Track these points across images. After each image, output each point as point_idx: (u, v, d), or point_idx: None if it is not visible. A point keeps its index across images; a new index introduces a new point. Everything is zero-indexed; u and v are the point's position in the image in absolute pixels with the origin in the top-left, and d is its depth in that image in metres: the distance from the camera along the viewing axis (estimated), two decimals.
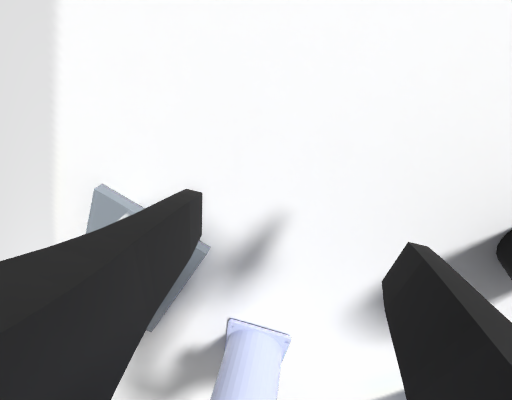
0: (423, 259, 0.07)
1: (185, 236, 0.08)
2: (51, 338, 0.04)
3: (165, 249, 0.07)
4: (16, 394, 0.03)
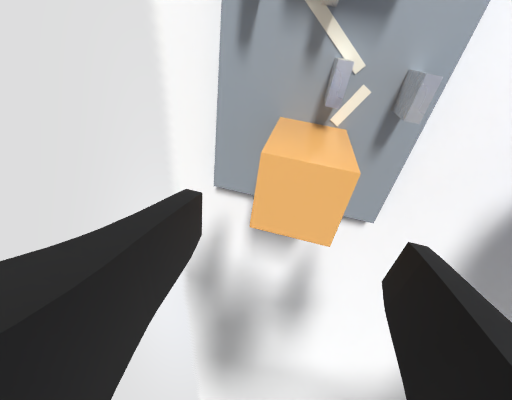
0: (423, 259, 0.07)
1: (185, 236, 0.08)
2: (51, 338, 0.04)
3: (165, 249, 0.07)
4: (16, 394, 0.03)
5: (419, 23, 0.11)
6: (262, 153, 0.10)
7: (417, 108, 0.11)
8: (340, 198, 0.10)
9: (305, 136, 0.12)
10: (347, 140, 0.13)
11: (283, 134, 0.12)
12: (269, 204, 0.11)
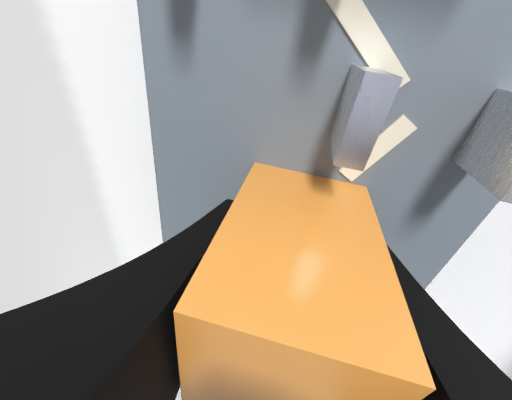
0: None
1: None
2: (141, 368, 0.04)
3: None
4: None
5: None
6: (178, 312, 0.04)
7: None
8: None
9: (293, 218, 0.06)
10: (374, 223, 0.07)
11: (249, 216, 0.06)
12: (213, 385, 0.05)
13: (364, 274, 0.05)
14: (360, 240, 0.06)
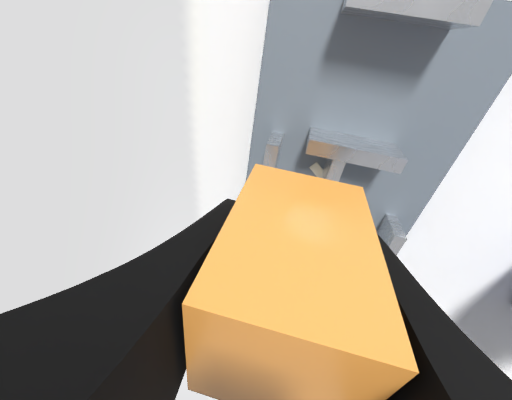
0: None
1: None
2: (141, 368, 0.04)
3: None
4: None
5: (392, 189, 0.16)
6: (186, 305, 0.04)
7: None
8: (364, 395, 0.05)
9: (292, 218, 0.07)
10: (368, 222, 0.07)
11: (250, 216, 0.06)
12: (217, 373, 0.06)
13: (357, 270, 0.05)
14: (355, 238, 0.06)
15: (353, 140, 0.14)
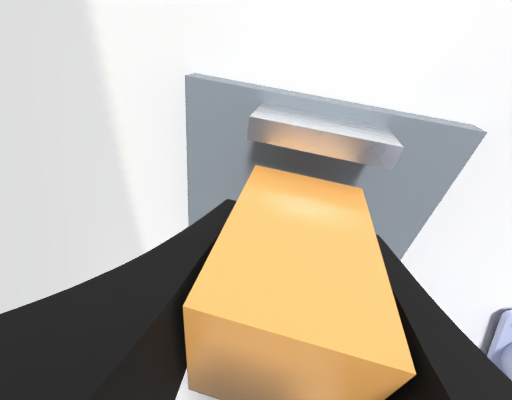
0: None
1: None
2: (141, 368, 0.04)
3: None
4: None
5: None
6: (186, 306, 0.04)
7: None
8: (362, 395, 0.05)
9: (292, 220, 0.07)
10: (368, 224, 0.07)
11: (250, 218, 0.07)
12: (217, 373, 0.06)
13: (356, 272, 0.05)
14: (354, 240, 0.06)
15: None
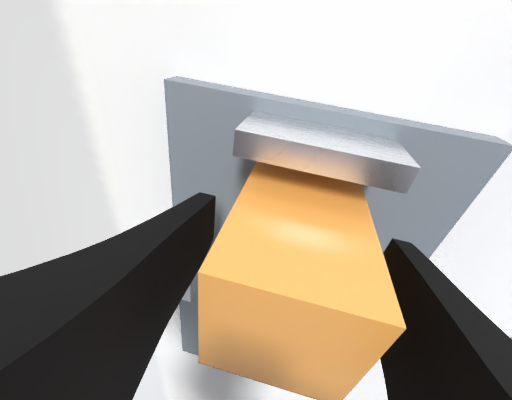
0: (404, 254, 0.07)
1: (199, 240, 0.08)
2: (80, 348, 0.04)
3: (182, 253, 0.07)
4: None
5: None
6: (201, 273, 0.05)
7: None
8: (359, 355, 0.05)
9: (294, 205, 0.07)
10: (364, 209, 0.08)
11: (255, 203, 0.07)
12: (226, 342, 0.06)
13: (354, 248, 0.06)
14: (351, 222, 0.07)
15: None
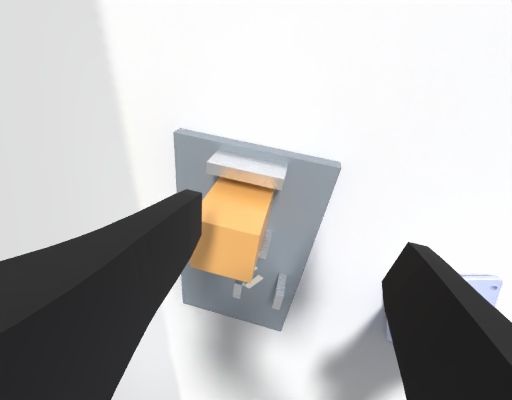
0: (423, 259, 0.07)
1: (185, 236, 0.08)
2: (51, 338, 0.04)
3: (165, 249, 0.07)
4: (16, 394, 0.03)
5: (279, 258, 0.22)
6: None
7: (276, 304, 0.22)
8: (249, 251, 0.14)
9: (234, 195, 0.16)
10: (268, 198, 0.16)
11: (216, 194, 0.16)
12: (201, 252, 0.15)
13: (254, 212, 0.14)
14: (259, 203, 0.15)
15: None
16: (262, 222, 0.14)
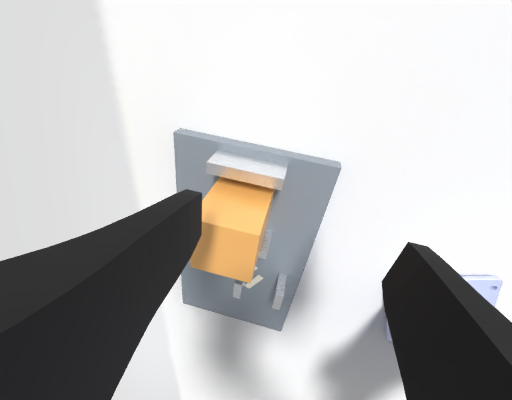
0: (423, 259, 0.07)
1: (185, 236, 0.08)
2: (51, 338, 0.04)
3: (165, 249, 0.07)
4: (16, 394, 0.03)
5: (279, 258, 0.22)
6: None
7: (276, 304, 0.22)
8: (249, 251, 0.14)
9: (234, 195, 0.16)
10: (268, 198, 0.16)
11: (216, 194, 0.16)
12: (201, 252, 0.15)
13: (254, 212, 0.14)
14: (259, 203, 0.15)
15: None
16: (262, 222, 0.14)
